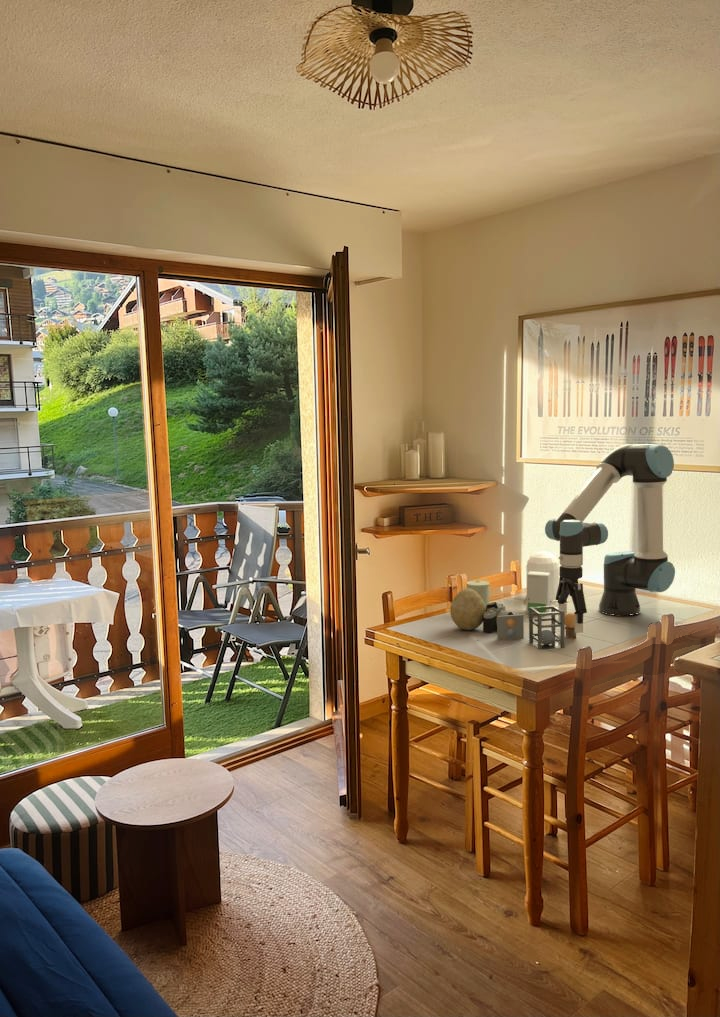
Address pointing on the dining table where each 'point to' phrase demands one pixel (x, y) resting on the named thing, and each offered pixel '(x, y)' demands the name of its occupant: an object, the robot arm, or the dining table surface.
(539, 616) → the open frame box
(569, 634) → the pedestal
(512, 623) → the sign
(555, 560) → the container
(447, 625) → the dining table surface
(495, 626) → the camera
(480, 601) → the fossilized egg
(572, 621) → the orange ball
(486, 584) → the can
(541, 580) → the skincare box
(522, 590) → the dining table surface
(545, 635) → the gray ball
